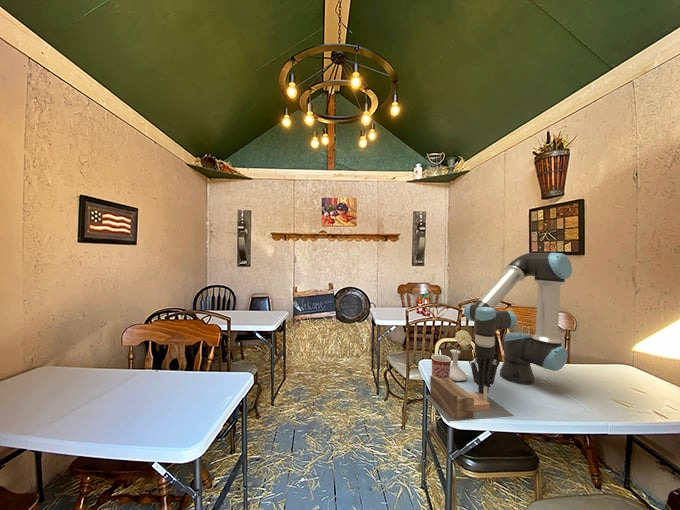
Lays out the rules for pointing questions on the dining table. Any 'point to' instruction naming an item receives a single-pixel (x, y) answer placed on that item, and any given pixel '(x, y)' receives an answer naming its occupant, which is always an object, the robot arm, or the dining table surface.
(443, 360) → the mug
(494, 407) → the mat
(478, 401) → the tile
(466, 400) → the grooved wooden block
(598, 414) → the dining table surface
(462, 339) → the flower in vase
